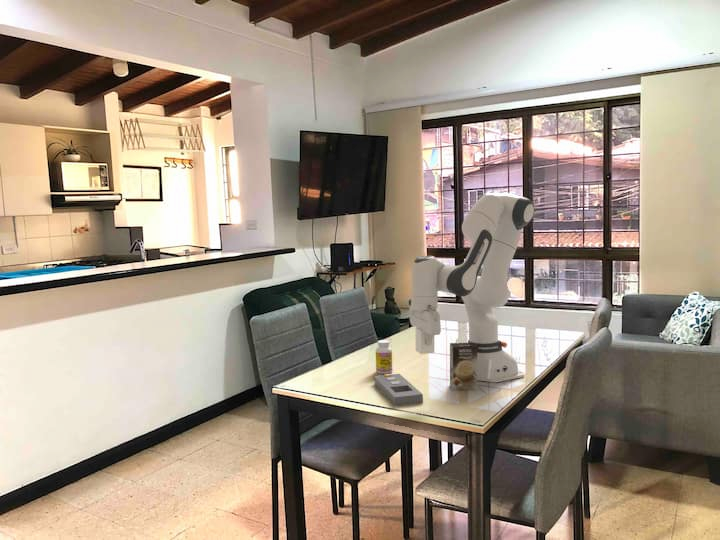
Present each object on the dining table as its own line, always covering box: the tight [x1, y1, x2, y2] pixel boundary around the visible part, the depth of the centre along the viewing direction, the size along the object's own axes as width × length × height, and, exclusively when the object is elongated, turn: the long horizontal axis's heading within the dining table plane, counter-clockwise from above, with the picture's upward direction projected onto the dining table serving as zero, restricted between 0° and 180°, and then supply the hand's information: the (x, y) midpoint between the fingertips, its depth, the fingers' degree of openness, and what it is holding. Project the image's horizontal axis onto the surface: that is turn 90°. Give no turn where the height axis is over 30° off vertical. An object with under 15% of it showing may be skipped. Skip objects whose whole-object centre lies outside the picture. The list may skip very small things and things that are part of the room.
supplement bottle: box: [375, 339, 393, 375], centre depth 233 cm, size 7×7×13 cm
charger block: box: [415, 327, 435, 355], centre depth 198 cm, size 5×5×9 cm
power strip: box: [373, 373, 424, 407], centre depth 207 cm, size 10×26×4 cm, turn 14°
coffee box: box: [449, 342, 478, 391], centre depth 210 cm, size 9×6×16 cm
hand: (424, 342), depth 198 cm, fingers closed on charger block, 5 cm apart
